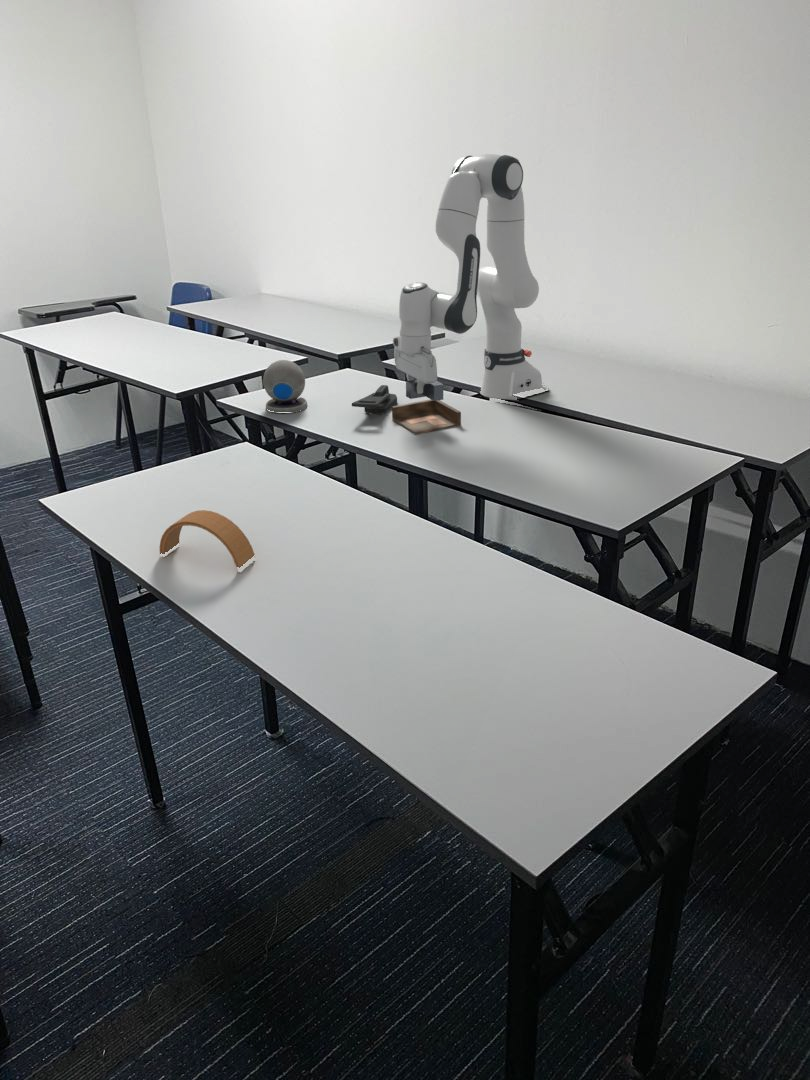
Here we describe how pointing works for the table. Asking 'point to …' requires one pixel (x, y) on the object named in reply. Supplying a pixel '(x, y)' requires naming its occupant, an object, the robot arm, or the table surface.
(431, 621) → the table surface
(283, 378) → the webcam
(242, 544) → the arch
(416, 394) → the angle bracket
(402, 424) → the corner arena
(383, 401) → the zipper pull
